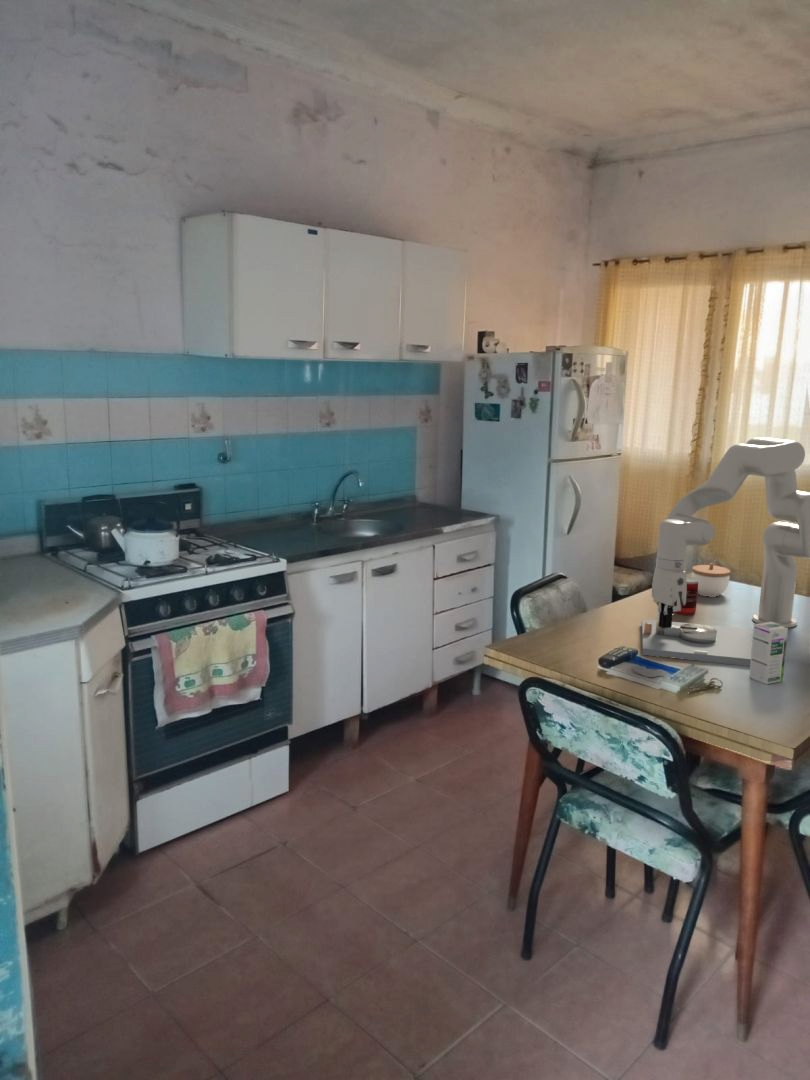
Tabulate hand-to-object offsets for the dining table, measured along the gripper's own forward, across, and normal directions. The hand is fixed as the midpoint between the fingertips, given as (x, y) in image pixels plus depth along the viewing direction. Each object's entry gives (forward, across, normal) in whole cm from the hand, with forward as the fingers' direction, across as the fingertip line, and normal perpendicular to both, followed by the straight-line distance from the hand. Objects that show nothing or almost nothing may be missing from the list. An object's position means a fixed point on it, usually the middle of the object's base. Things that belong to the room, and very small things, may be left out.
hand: (664, 626), depth 233 cm
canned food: (+6, +26, -27) cm, 38 cm away
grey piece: (+3, 0, -7) cm, 8 cm away
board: (+6, -2, -10) cm, 11 cm away
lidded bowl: (+6, +41, -49) cm, 64 cm away
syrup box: (+6, -30, -9) cm, 32 cm away
